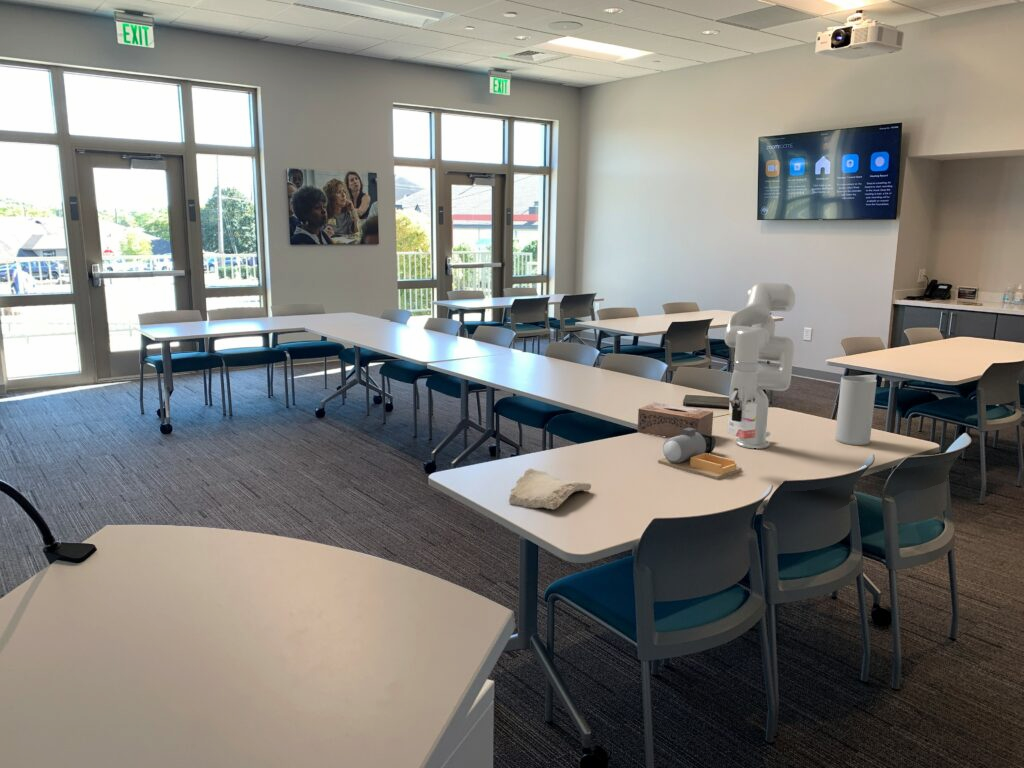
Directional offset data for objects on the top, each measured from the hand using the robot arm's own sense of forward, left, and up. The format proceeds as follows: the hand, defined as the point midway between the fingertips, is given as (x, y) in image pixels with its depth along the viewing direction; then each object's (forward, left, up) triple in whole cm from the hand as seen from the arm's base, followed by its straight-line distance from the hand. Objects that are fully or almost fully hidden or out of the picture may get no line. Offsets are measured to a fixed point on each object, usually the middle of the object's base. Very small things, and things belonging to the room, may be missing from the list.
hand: (741, 418), depth 254 cm
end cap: (-10, -23, -19) cm, 31 cm away
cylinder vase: (-69, +8, -19) cm, 72 cm away
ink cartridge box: (0, 0, -6) cm, 6 cm away
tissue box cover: (-24, -44, -19) cm, 53 cm away
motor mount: (+6, -12, -19) cm, 23 cm away
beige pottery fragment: (+67, -25, -19) cm, 74 cm away
